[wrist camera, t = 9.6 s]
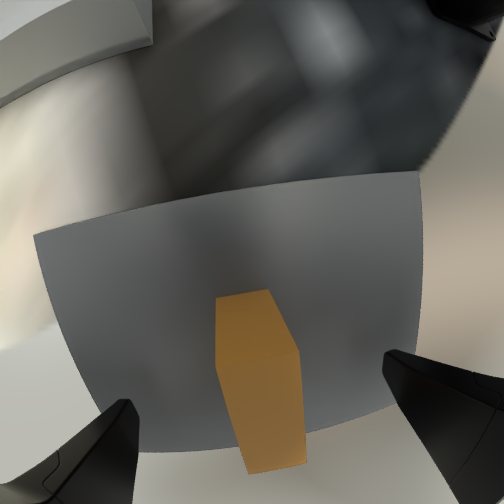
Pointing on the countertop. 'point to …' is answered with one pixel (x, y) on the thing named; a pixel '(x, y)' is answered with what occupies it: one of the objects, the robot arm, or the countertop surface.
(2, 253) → the countertop surface
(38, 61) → the tub
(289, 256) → the grey lid
